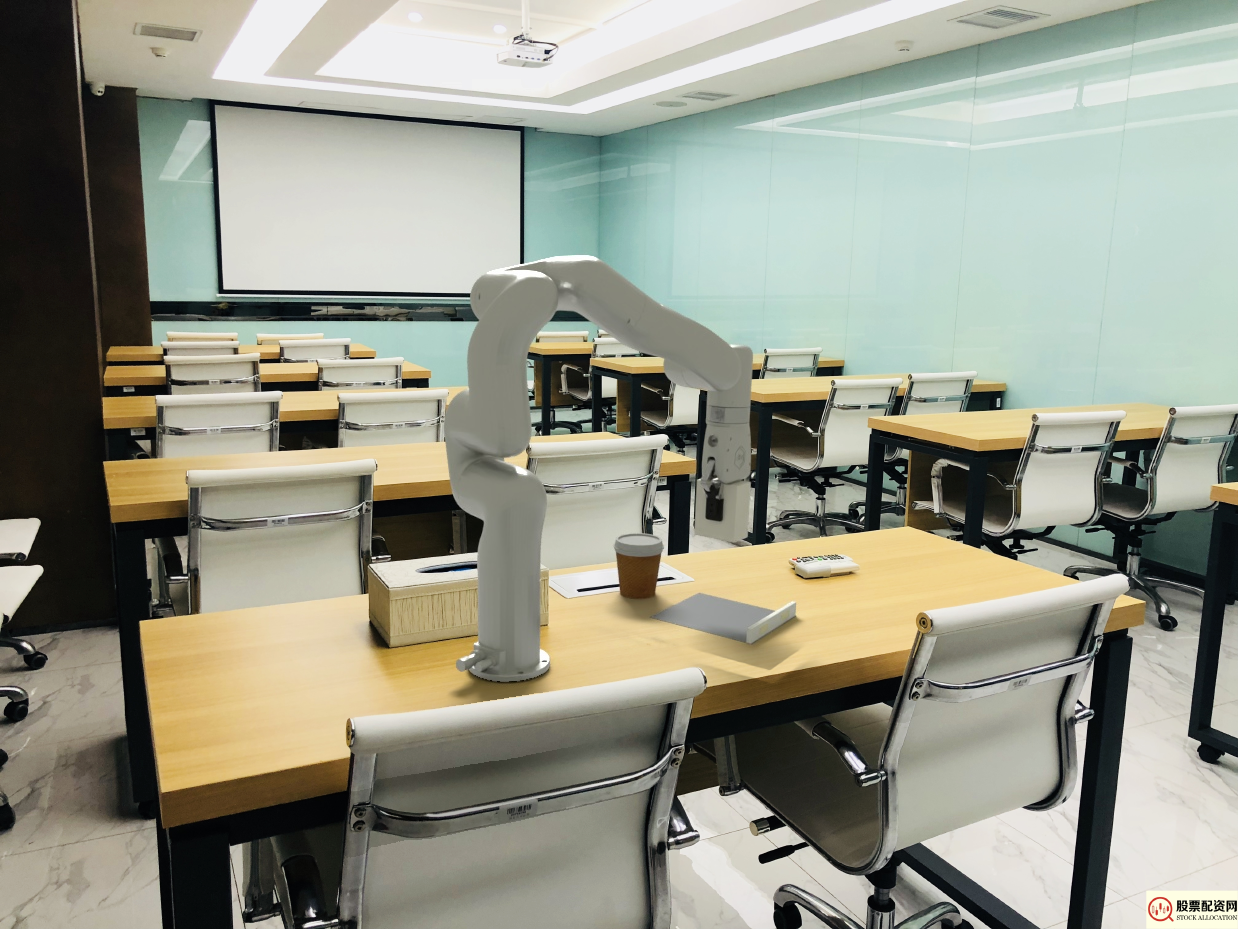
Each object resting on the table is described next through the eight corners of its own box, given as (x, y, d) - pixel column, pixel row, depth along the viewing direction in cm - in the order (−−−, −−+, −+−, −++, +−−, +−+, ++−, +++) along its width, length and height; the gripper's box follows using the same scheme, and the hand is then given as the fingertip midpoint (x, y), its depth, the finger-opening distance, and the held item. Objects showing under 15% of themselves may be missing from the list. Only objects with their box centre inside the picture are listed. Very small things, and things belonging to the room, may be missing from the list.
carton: (734, 542, 161) (737, 486, 159) (694, 534, 165) (697, 479, 164) (748, 536, 165) (751, 481, 163) (709, 529, 170) (712, 475, 168)
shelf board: (751, 652, 151) (752, 629, 150) (649, 625, 162) (649, 603, 161) (796, 623, 164) (797, 602, 164) (698, 600, 176) (699, 580, 175)
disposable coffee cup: (643, 612, 168) (644, 549, 166) (601, 601, 174) (603, 539, 172) (672, 599, 176) (674, 538, 174) (632, 589, 181) (633, 529, 179)
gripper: (722, 422, 152) (717, 529, 156) (769, 413, 166) (763, 512, 169) (683, 418, 157) (679, 522, 160) (732, 409, 170) (727, 506, 174)
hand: (722, 516), depth 165 cm, fingers closed on carton, 5 cm apart
